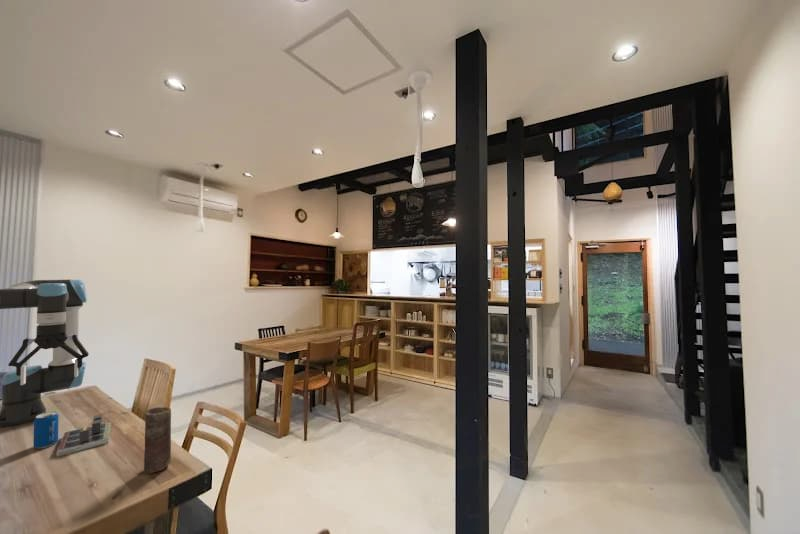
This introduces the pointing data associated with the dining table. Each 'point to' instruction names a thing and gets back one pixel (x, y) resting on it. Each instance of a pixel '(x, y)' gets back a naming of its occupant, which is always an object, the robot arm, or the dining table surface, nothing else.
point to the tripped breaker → (84, 434)
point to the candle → (157, 439)
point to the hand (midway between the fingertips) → (50, 380)
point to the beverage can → (46, 430)
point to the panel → (73, 443)
